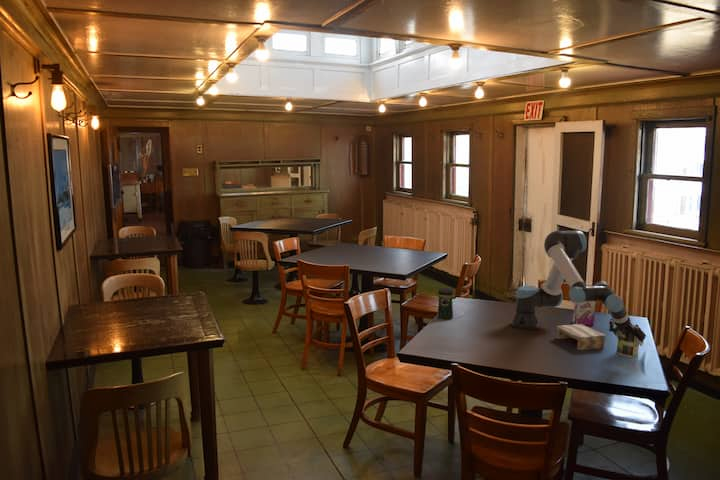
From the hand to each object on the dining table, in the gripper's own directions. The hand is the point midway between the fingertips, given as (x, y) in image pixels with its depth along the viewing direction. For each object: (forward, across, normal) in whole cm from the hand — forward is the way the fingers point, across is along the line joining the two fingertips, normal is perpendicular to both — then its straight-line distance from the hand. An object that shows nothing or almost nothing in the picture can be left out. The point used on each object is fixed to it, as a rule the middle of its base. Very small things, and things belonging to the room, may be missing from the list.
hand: (630, 341), depth 301 cm
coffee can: (+2, 0, -6) cm, 7 cm away
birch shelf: (0, -24, -9) cm, 26 cm away
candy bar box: (+24, -39, +16) cm, 49 cm away
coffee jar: (-14, -101, -23) cm, 104 cm away
